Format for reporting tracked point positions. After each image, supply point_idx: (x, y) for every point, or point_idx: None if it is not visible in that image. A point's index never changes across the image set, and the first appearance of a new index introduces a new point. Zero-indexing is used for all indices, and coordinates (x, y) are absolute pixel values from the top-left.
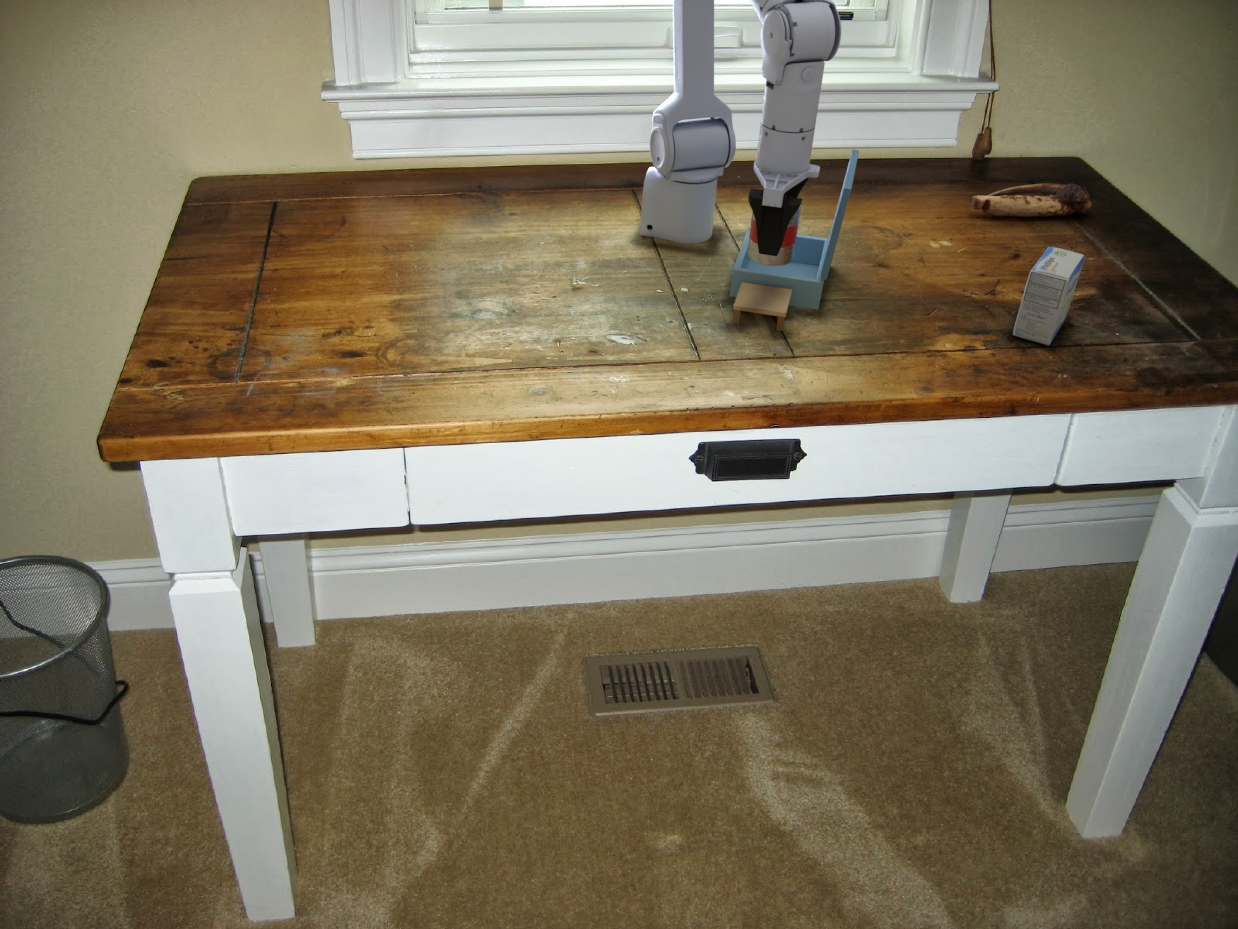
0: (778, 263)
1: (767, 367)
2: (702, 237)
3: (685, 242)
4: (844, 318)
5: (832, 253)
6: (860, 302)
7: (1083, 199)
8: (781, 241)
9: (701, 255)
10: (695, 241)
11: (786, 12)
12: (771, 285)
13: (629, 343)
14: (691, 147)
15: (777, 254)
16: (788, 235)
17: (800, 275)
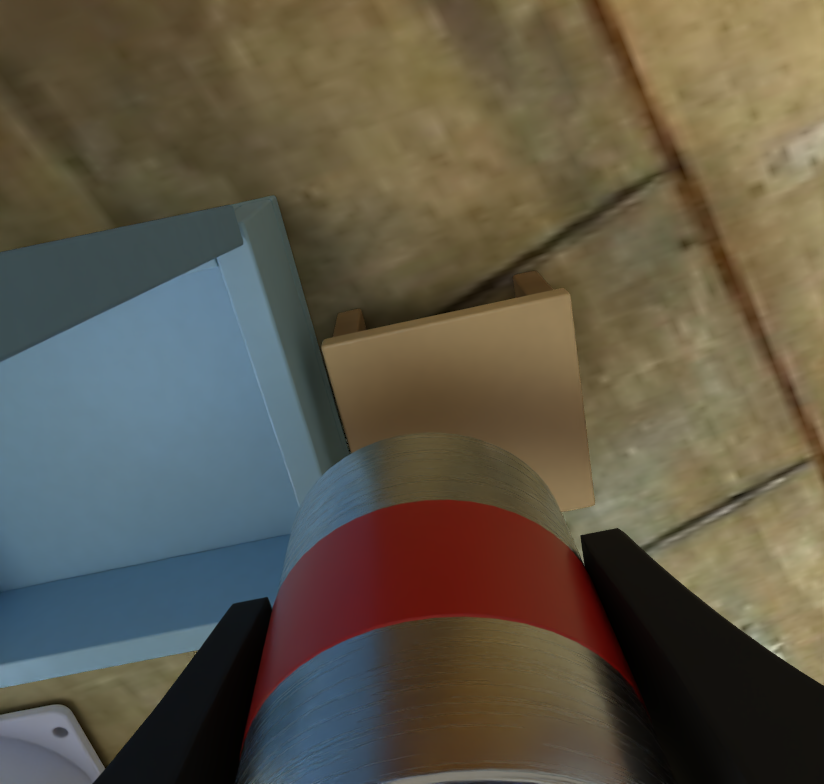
0: (542, 484)
1: (793, 235)
2: (22, 761)
3: (82, 780)
4: (221, 63)
5: (178, 225)
6: (9, 36)
7: None
8: (688, 590)
9: (98, 707)
10: (55, 763)
11: None
12: (324, 439)
13: (776, 654)
14: None
15: (624, 533)
16: (564, 585)
17: (12, 374)
